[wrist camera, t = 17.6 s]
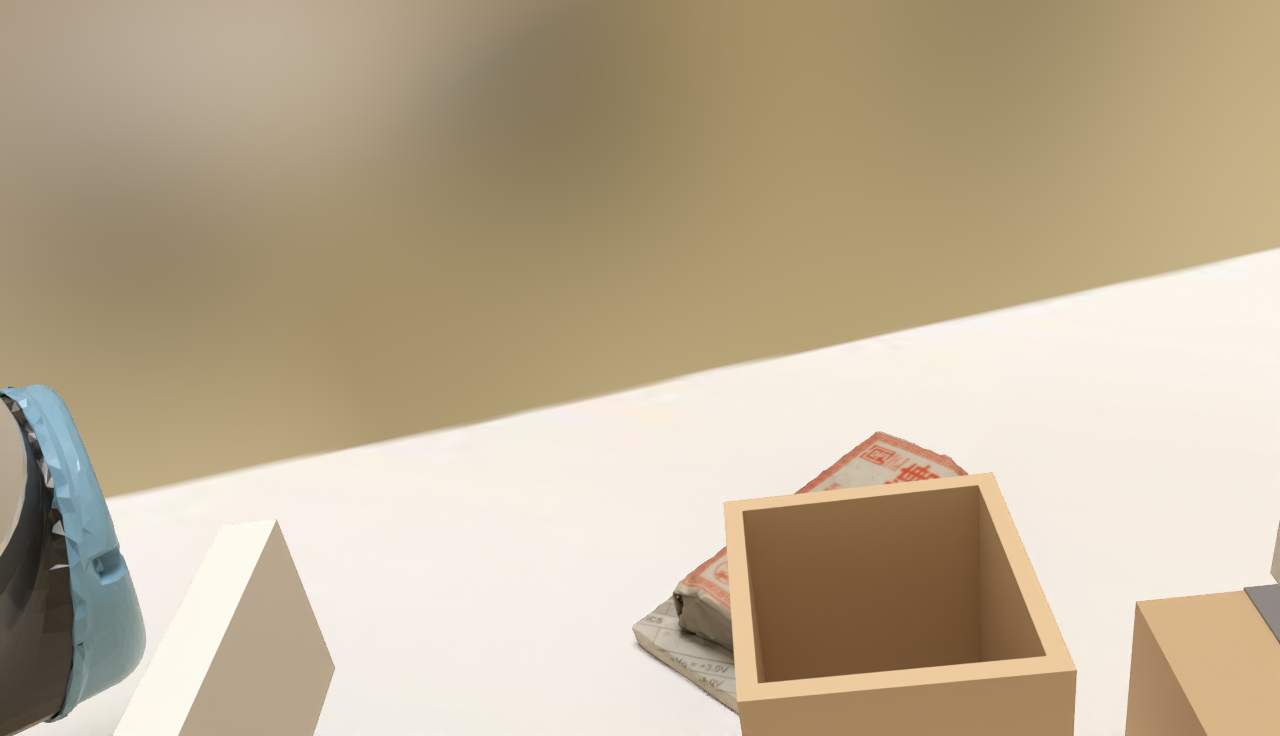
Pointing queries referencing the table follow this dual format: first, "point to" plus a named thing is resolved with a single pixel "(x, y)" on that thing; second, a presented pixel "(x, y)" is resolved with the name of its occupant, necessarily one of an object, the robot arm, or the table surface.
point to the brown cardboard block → (1206, 665)
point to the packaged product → (700, 606)
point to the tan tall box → (892, 615)
